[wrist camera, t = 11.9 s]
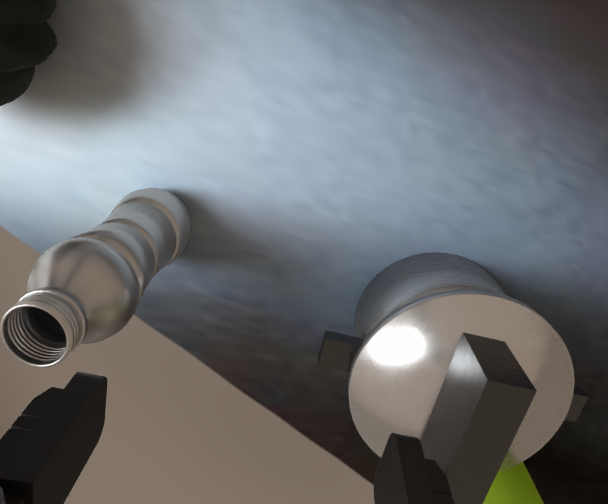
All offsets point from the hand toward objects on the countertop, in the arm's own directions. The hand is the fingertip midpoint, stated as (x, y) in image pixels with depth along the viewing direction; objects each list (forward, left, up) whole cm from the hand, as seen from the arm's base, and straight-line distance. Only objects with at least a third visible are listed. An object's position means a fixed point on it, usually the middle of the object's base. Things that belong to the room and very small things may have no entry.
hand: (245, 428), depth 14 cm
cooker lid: (+10, +15, -20) cm, 27 cm away
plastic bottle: (+6, -11, -30) cm, 33 cm away
